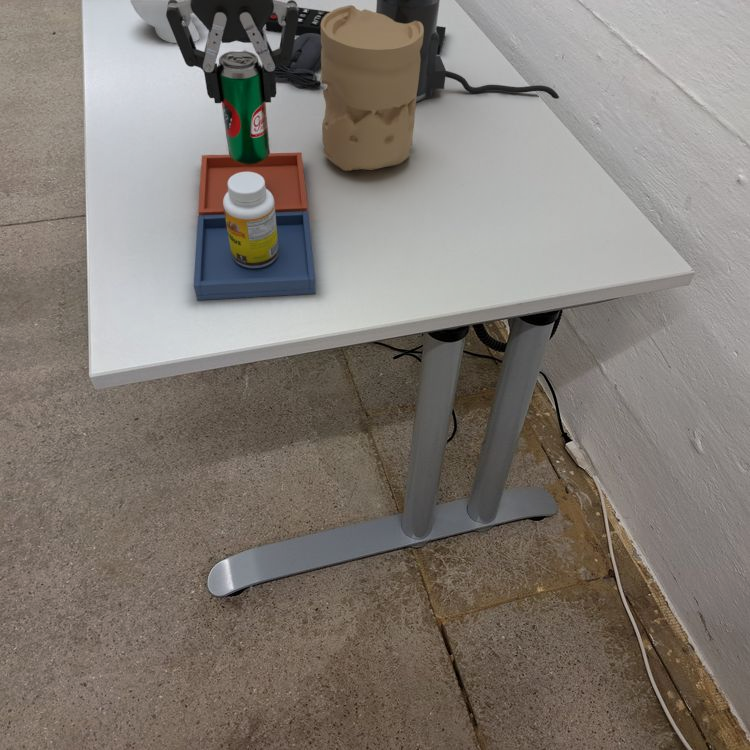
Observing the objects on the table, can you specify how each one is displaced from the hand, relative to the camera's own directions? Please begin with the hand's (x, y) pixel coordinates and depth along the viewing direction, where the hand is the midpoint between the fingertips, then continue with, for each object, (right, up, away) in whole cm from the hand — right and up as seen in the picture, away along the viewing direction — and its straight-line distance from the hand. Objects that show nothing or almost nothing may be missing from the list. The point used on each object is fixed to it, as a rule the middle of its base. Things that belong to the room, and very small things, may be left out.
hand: (243, 98), depth 74 cm
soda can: (0, -5, +6) cm, 8 cm away
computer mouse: (+4, +20, +33) cm, 39 cm away
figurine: (-21, +29, +39) cm, 53 cm away
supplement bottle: (+1, -18, +2) cm, 18 cm away
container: (+14, -1, +17) cm, 22 cm away
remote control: (+12, +30, +42) cm, 53 cm away
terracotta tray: (-1, -8, +10) cm, 13 cm away
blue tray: (+1, -18, +2) cm, 19 cm away
